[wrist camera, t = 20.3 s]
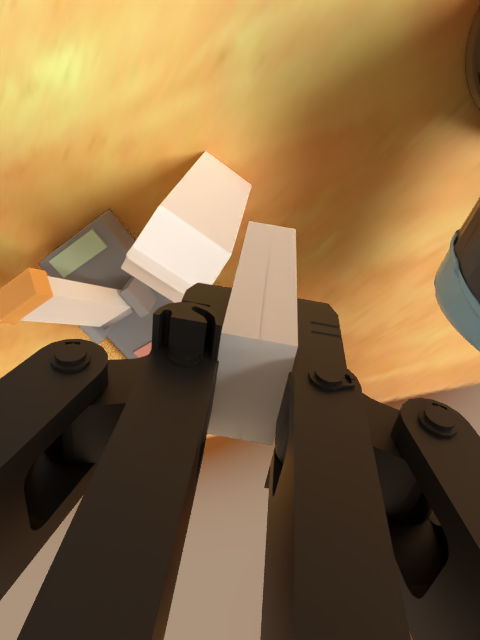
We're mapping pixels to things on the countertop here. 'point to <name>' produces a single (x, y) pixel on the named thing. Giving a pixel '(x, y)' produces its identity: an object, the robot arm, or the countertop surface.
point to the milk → (190, 230)
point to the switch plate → (109, 281)
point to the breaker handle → (60, 301)
